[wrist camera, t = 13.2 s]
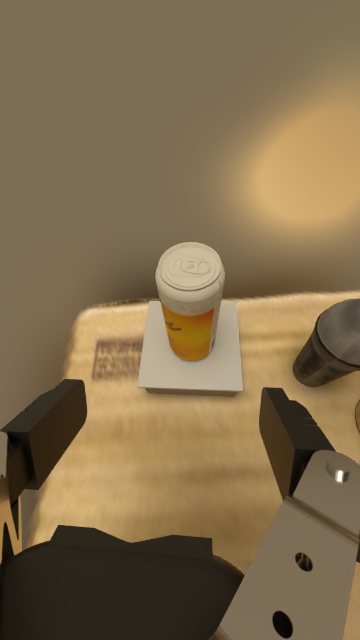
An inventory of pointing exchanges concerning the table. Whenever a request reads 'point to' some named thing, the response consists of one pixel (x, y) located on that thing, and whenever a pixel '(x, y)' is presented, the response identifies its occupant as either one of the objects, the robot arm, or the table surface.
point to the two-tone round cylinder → (190, 297)
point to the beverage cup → (331, 346)
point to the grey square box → (191, 376)
